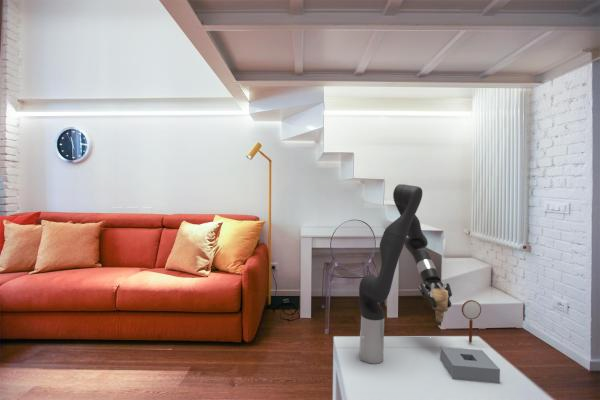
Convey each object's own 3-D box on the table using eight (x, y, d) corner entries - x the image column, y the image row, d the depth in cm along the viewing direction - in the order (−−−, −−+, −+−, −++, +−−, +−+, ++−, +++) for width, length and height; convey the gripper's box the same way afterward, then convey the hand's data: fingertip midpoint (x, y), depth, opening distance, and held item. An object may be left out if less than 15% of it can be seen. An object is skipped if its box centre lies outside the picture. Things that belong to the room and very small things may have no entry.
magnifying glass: (461, 344, 140) (463, 300, 140) (459, 342, 142) (461, 299, 142) (480, 345, 141) (482, 300, 140) (478, 343, 142) (480, 299, 142)
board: (452, 378, 114) (453, 365, 114) (440, 358, 128) (440, 346, 128) (499, 383, 112) (500, 369, 112) (481, 362, 126) (482, 350, 126)
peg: (434, 323, 130) (435, 292, 130) (430, 317, 136) (431, 288, 136) (449, 324, 130) (450, 293, 129) (444, 318, 136) (445, 288, 135)
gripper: (416, 267, 139) (430, 303, 127) (446, 267, 141) (462, 302, 129) (410, 276, 144) (422, 311, 133) (438, 275, 146) (453, 310, 135)
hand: (442, 306), depth 131 cm, fingers closed on peg, 5 cm apart
